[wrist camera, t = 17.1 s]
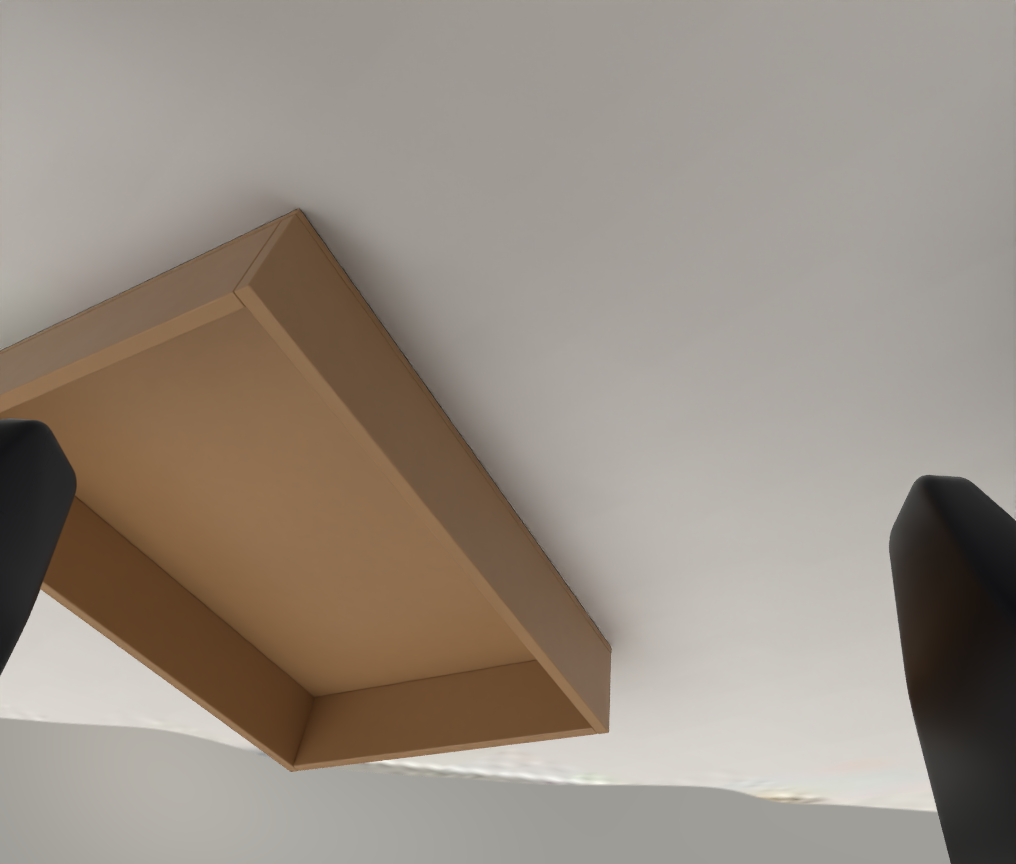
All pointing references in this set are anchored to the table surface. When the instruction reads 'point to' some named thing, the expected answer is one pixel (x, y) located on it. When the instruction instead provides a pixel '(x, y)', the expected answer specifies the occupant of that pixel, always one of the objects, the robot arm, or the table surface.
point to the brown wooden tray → (297, 518)
